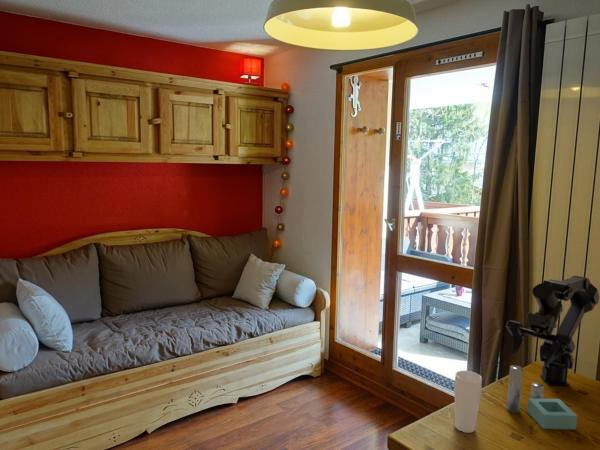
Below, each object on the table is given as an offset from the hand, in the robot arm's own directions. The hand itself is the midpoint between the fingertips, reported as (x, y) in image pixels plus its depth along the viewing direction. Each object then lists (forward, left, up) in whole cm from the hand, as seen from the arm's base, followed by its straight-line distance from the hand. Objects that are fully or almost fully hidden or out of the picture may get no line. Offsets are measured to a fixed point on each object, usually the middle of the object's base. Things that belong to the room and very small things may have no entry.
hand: (528, 360), depth 141 cm
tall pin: (+6, +5, -13) cm, 15 cm away
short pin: (-4, -2, -13) cm, 14 cm away
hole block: (-2, +10, -13) cm, 17 cm away
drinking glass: (+24, +15, -13) cm, 31 cm away
